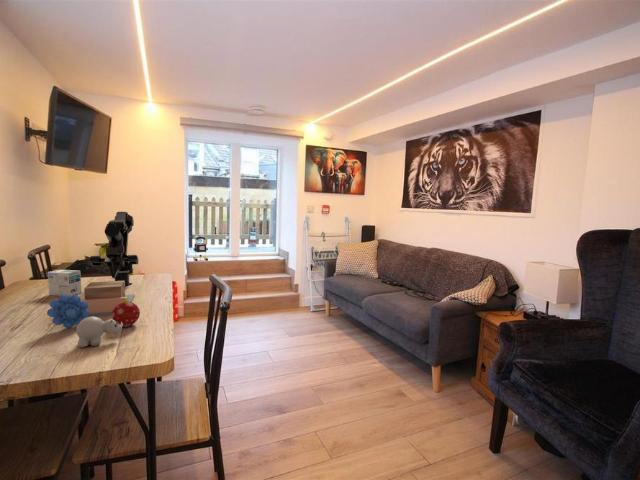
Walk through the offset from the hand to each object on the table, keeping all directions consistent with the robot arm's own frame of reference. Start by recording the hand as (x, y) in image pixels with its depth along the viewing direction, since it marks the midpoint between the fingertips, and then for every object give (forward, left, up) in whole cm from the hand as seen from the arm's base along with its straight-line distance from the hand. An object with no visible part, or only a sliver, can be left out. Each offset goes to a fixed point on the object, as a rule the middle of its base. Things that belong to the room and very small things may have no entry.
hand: (113, 278), depth 148 cm
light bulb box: (-1, -25, -9) cm, 26 cm away
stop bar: (+20, +12, -9) cm, 25 cm away
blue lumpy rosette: (+35, +12, -9) cm, 39 cm away
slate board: (+11, +6, -9) cm, 16 cm away
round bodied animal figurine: (+43, +30, -9) cm, 54 cm away
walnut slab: (+15, +9, -6) cm, 19 cm away
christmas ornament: (+29, +28, -9) cm, 42 cm away
